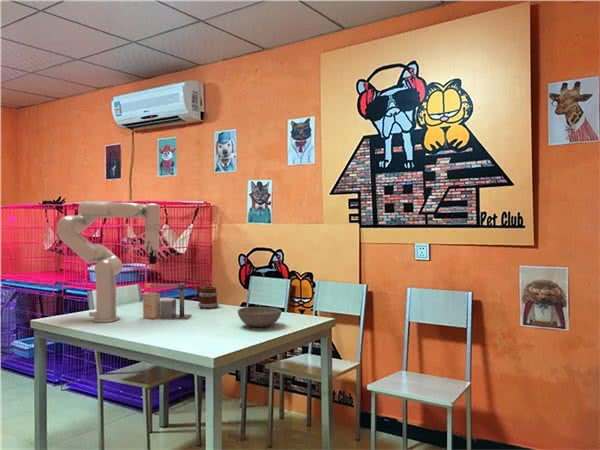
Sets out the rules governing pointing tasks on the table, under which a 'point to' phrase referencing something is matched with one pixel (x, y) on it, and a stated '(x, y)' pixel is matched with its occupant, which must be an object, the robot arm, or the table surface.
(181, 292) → the post
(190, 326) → the table surface
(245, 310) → the bowl
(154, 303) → the supplement box
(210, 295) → the brown wooden barrel
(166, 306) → the block
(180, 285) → the bar
